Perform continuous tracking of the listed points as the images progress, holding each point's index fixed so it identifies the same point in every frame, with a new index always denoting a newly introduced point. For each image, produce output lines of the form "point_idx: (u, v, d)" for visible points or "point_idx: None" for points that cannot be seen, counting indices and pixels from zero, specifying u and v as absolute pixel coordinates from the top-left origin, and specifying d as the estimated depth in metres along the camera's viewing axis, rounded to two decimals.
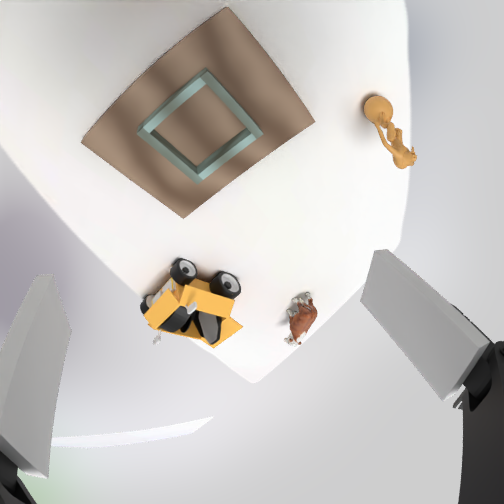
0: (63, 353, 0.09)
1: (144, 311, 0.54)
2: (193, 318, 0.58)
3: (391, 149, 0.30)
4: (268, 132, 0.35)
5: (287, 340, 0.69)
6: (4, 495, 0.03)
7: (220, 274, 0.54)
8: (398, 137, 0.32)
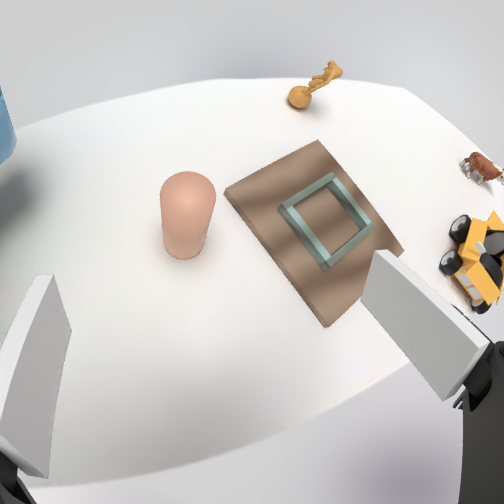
0: (63, 353, 0.09)
1: (485, 308, 0.44)
2: None
3: (330, 77, 0.39)
4: (330, 172, 0.44)
5: (503, 181, 0.53)
6: (4, 495, 0.03)
7: (452, 232, 0.49)
8: (319, 77, 0.43)
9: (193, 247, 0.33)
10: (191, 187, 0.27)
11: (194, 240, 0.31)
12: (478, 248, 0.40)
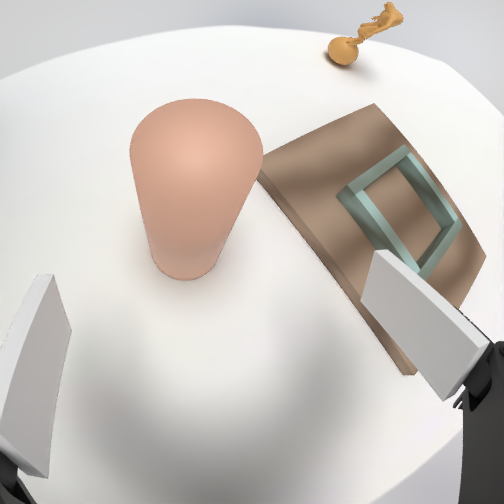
0: (63, 353, 0.09)
1: None
2: None
3: (390, 21, 0.23)
4: (396, 146, 0.29)
5: None
6: (4, 495, 0.03)
7: None
8: (370, 24, 0.27)
9: (204, 261, 0.18)
10: (205, 128, 0.11)
11: (208, 249, 0.15)
12: None
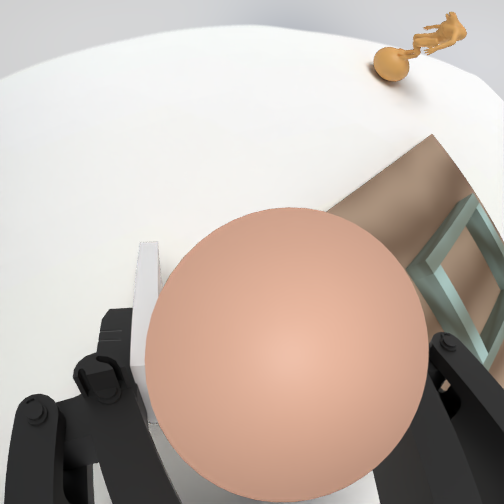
0: None
1: None
2: None
3: (455, 36, 0.17)
4: (459, 191, 0.22)
5: None
6: (154, 447, 0.05)
7: None
8: (427, 36, 0.21)
9: None
10: (327, 305, 0.05)
11: None
12: None
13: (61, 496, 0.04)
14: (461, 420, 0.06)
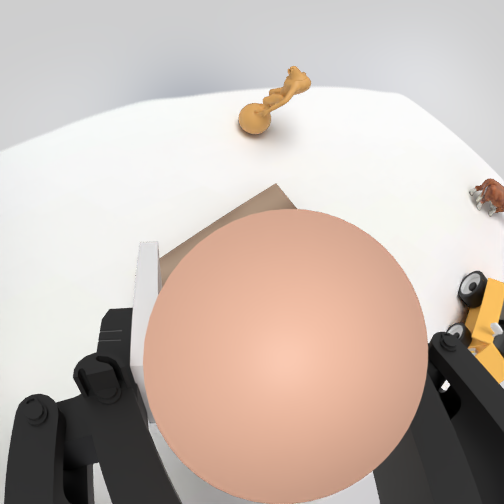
0: None
1: None
2: None
3: (290, 93, 0.27)
4: None
5: None
6: (154, 447, 0.05)
7: (461, 295, 0.37)
8: (278, 91, 0.31)
9: None
10: (326, 307, 0.05)
11: None
12: (494, 329, 0.28)
13: (61, 496, 0.04)
14: (461, 420, 0.06)
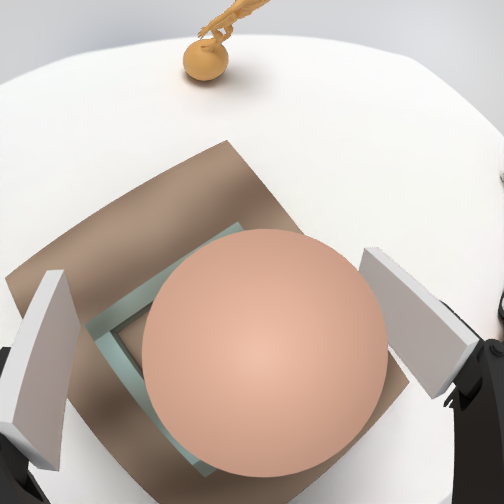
0: (73, 347, 0.10)
1: None
2: None
3: None
4: (244, 217, 0.20)
5: None
6: (16, 489, 0.03)
7: None
8: None
9: None
10: (291, 310, 0.06)
11: None
12: None
13: None
14: None
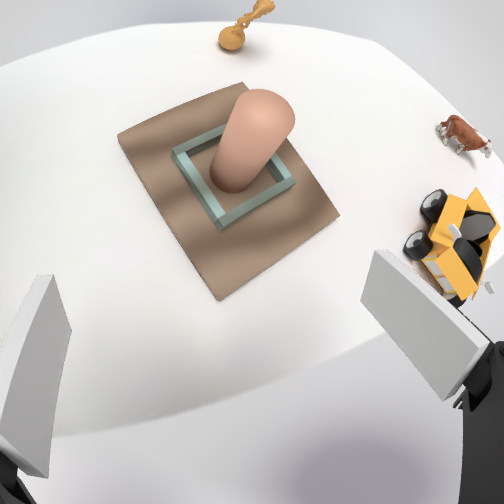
0: (63, 353, 0.09)
1: (458, 303, 0.39)
2: None
3: (256, 11, 0.29)
4: None
5: (487, 153, 0.46)
6: (4, 495, 0.03)
7: (423, 209, 0.43)
8: (249, 14, 0.33)
9: (250, 177, 0.30)
10: (269, 105, 0.23)
11: (257, 167, 0.28)
12: (452, 231, 0.34)
13: None
14: None
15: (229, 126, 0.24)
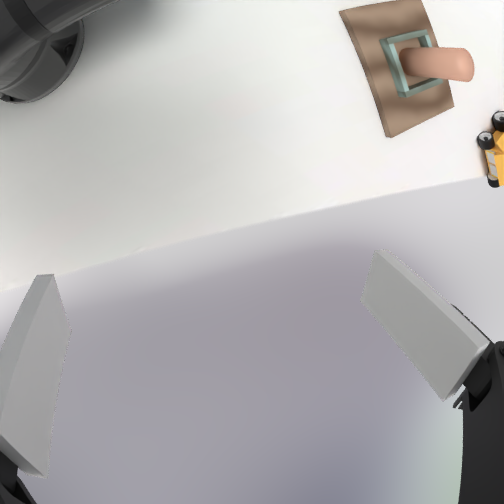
0: (63, 353, 0.09)
1: (496, 185, 0.54)
2: None
3: None
4: (422, 26, 0.35)
5: None
6: (4, 495, 0.03)
7: (494, 119, 0.48)
8: None
9: None
10: (466, 60, 0.27)
11: (440, 78, 0.33)
12: None
13: None
14: None
15: (443, 59, 0.29)
